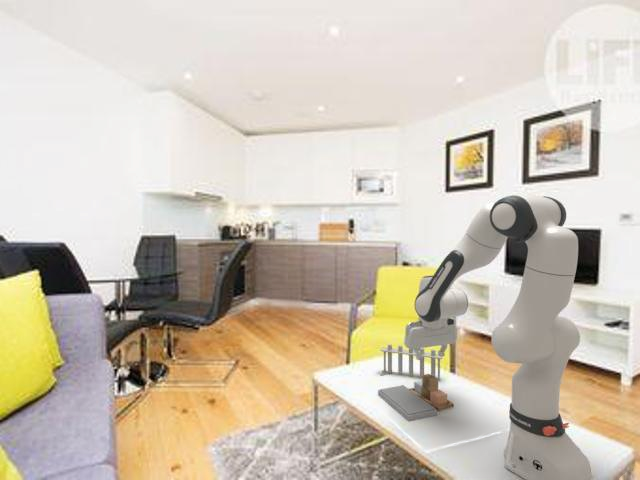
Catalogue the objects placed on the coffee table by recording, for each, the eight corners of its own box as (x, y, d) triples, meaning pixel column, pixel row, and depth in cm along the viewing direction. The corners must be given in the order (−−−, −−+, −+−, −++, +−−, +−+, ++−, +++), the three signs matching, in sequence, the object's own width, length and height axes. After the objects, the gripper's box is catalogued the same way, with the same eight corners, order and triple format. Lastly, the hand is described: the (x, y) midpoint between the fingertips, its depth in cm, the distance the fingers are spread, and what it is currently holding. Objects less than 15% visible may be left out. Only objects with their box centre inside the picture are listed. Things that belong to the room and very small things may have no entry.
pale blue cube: (430, 394, 139) (430, 384, 139) (421, 396, 137) (421, 386, 137) (423, 390, 142) (423, 380, 142) (414, 392, 141) (414, 381, 141)
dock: (437, 417, 125) (437, 408, 125) (408, 424, 121) (408, 414, 121) (403, 392, 144) (403, 384, 143) (378, 397, 140) (378, 389, 140)
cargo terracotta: (447, 405, 130) (447, 394, 130) (437, 407, 129) (438, 396, 129) (439, 400, 134) (439, 389, 134) (430, 402, 133) (430, 391, 132)
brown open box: (453, 410, 130) (453, 383, 129) (437, 415, 127) (437, 387, 127) (423, 391, 144) (423, 367, 144) (408, 395, 142) (408, 370, 141)
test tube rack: (443, 381, 153) (443, 349, 153) (441, 385, 149) (442, 352, 149) (382, 372, 163) (382, 341, 163) (380, 375, 159) (380, 345, 159)
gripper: (411, 325, 128) (410, 365, 129) (460, 319, 135) (459, 357, 136) (401, 320, 134) (400, 358, 135) (448, 315, 141) (447, 351, 142)
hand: (430, 357), depth 135 cm, fingers open, 8 cm apart
